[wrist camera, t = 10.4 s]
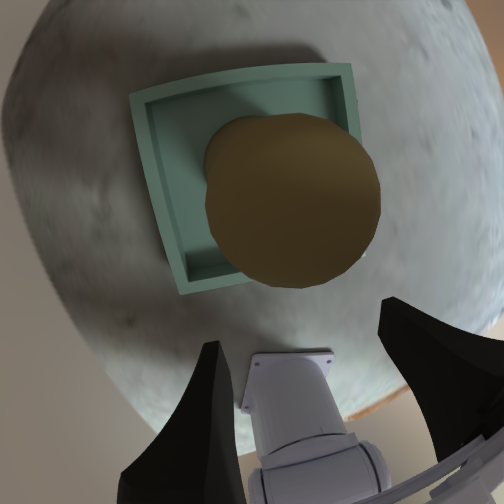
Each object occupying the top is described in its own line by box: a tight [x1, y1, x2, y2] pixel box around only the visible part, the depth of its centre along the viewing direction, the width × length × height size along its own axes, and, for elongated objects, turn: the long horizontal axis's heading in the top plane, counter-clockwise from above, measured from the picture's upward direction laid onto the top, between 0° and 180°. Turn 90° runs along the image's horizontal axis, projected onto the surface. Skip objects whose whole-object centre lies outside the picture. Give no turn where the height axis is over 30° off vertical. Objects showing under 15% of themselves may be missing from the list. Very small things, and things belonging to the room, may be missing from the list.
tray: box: [128, 63, 366, 295], centre depth 16 cm, size 13×13×2 cm
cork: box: [203, 113, 381, 289], centre depth 12 cm, size 6×6×11 cm
